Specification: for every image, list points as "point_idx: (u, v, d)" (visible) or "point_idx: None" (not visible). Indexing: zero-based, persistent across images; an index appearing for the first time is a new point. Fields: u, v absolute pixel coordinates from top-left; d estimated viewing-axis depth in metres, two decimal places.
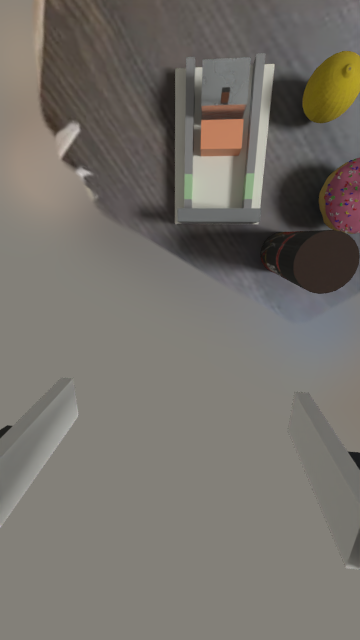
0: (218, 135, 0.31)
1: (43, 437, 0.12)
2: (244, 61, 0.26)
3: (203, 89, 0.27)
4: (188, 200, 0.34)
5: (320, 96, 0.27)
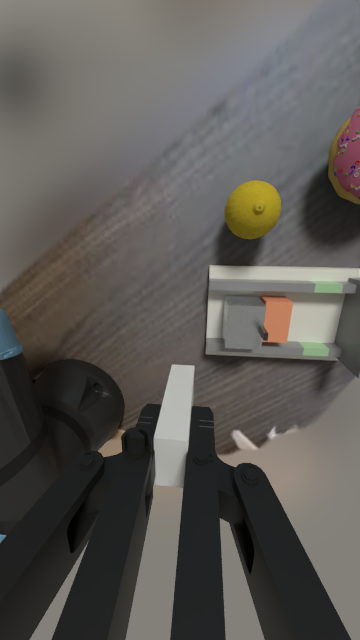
0: (277, 326, 0.30)
1: None
2: (230, 311, 0.27)
3: (248, 347, 0.28)
4: (330, 352, 0.31)
5: (268, 229, 0.25)
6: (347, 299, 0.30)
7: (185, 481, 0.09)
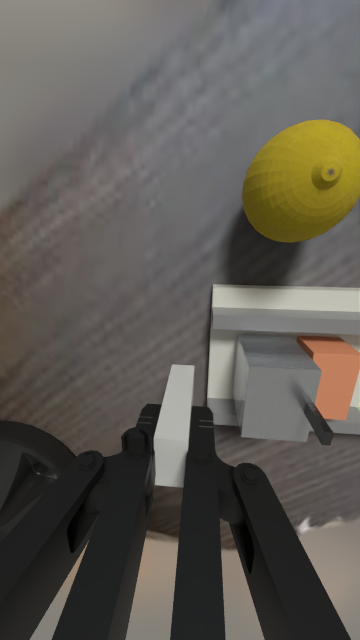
0: (331, 393, 0.17)
1: None
2: (253, 377, 0.15)
3: (283, 437, 0.16)
4: None
5: (336, 222, 0.12)
6: None
7: (185, 481, 0.09)
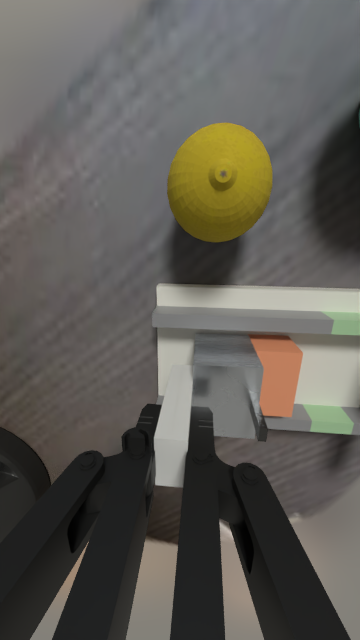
0: (275, 390, 0.17)
1: None
2: (198, 375, 0.15)
3: (231, 434, 0.16)
4: (354, 428, 0.19)
5: (247, 223, 0.12)
6: None
7: (185, 481, 0.09)
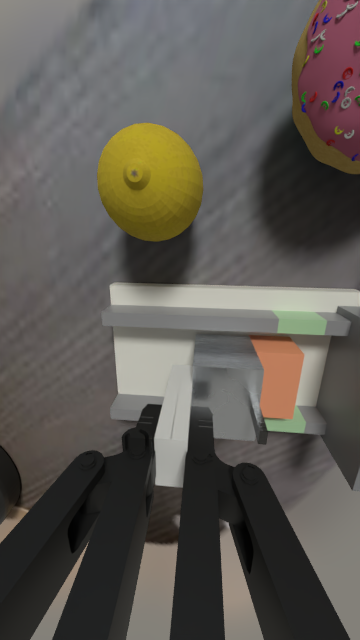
0: (276, 392, 0.17)
1: None
2: (197, 376, 0.15)
3: (231, 436, 0.16)
4: (307, 427, 0.19)
5: (173, 222, 0.12)
6: (336, 342, 0.18)
7: (184, 481, 0.09)
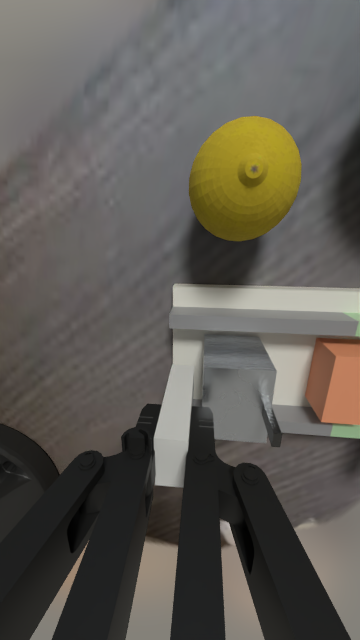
0: (353, 398, 0.16)
1: None
2: (209, 377, 0.14)
3: (242, 438, 0.16)
4: None
5: (274, 221, 0.12)
6: None
7: (185, 481, 0.09)
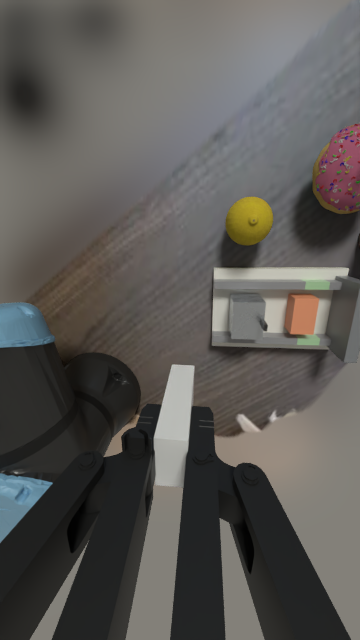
0: (305, 320, 0.34)
1: None
2: (235, 307, 0.32)
3: (251, 338, 0.33)
4: (320, 341, 0.35)
5: (262, 237, 0.29)
6: (335, 294, 0.34)
7: (185, 481, 0.09)
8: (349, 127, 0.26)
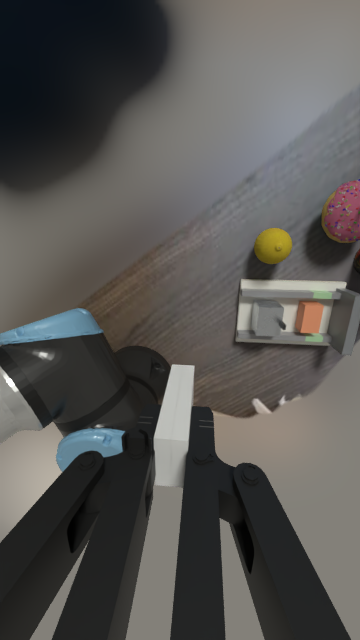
0: (312, 321, 0.44)
1: None
2: (260, 311, 0.41)
3: (271, 335, 0.43)
4: (323, 339, 0.45)
5: (283, 259, 0.39)
6: (335, 302, 0.44)
7: (185, 481, 0.09)
8: (350, 182, 0.36)
